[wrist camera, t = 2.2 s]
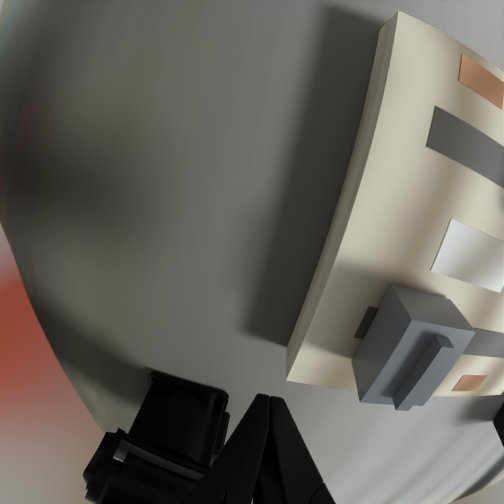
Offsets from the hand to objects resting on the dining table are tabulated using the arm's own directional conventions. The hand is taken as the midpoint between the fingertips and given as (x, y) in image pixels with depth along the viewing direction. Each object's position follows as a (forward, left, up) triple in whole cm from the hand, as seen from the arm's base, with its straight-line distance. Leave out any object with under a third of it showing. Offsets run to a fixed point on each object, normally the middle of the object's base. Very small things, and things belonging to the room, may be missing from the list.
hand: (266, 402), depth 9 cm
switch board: (+12, +5, -9) cm, 16 cm away
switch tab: (+7, 0, -6) cm, 9 cm away
